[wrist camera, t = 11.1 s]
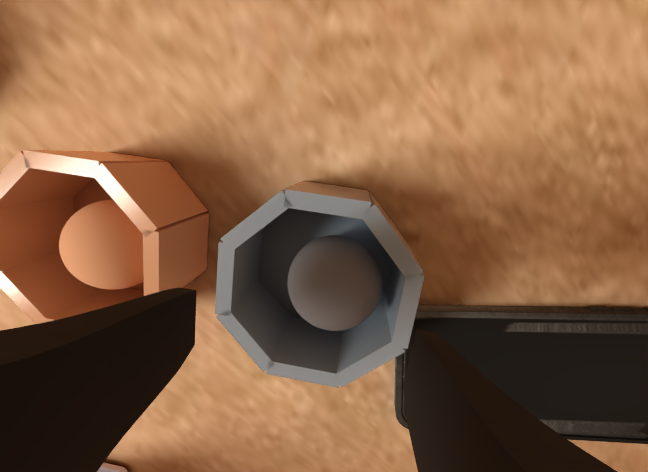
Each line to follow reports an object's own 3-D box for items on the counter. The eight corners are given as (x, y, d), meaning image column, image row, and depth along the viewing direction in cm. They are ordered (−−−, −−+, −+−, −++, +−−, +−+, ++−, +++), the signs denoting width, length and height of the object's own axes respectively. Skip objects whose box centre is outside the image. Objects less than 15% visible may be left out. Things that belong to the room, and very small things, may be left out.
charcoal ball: (354, 301, 18) (389, 349, 14) (277, 302, 16) (290, 354, 12) (367, 227, 17) (409, 255, 13) (286, 221, 15) (303, 250, 11)
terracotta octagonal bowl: (205, 307, 19) (158, 352, 14) (76, 284, 19) (-6, 321, 15) (210, 167, 17) (158, 170, 12) (65, 145, 17) (-34, 141, 13)
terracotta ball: (172, 269, 19) (160, 304, 15) (83, 269, 17) (43, 307, 13) (173, 196, 17) (160, 213, 13) (78, 189, 16) (33, 205, 12)
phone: (677, 445, 17) (395, 430, 18) (657, 428, 18) (393, 415, 20) (715, 313, 15) (398, 309, 17) (690, 302, 16) (395, 299, 18)
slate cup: (386, 340, 18) (395, 399, 14) (246, 315, 19) (212, 363, 14) (417, 197, 16) (439, 212, 11) (257, 173, 16) (221, 179, 12)
